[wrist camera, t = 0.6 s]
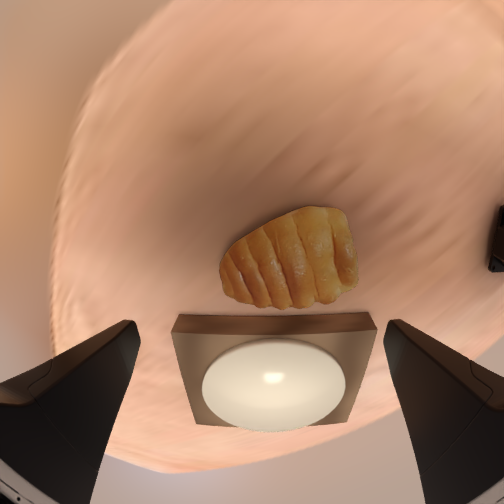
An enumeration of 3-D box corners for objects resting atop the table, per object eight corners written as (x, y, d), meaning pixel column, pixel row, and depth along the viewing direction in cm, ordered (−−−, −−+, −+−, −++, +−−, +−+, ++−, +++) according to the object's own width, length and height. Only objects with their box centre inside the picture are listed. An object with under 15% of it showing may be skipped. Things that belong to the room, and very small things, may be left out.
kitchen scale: (368, 312, 22) (380, 335, 19) (342, 405, 26) (347, 427, 23) (179, 314, 22) (167, 338, 19) (200, 407, 27) (195, 429, 24)
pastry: (238, 309, 22) (234, 340, 18) (207, 231, 19) (195, 252, 16) (355, 278, 20) (370, 304, 17) (338, 192, 18) (355, 205, 14)
